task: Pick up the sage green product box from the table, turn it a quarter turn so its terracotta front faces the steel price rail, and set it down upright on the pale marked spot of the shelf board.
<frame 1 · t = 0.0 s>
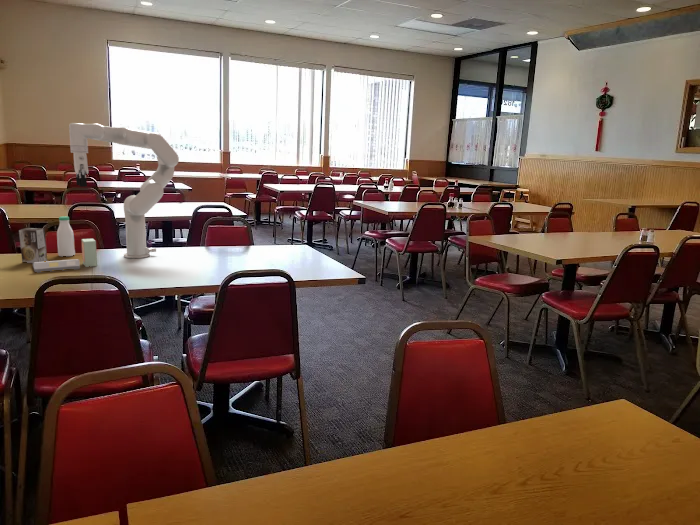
hand: (81, 185, 263), 37 cm above the table, tool pointing down, fingers open, 9 cm apart
milk bottle: (66, 255, 279), on the table
coffee box: (34, 262, 262), on the table
shelf board: (56, 267, 252), on the table
product box: (90, 264, 260), on the table
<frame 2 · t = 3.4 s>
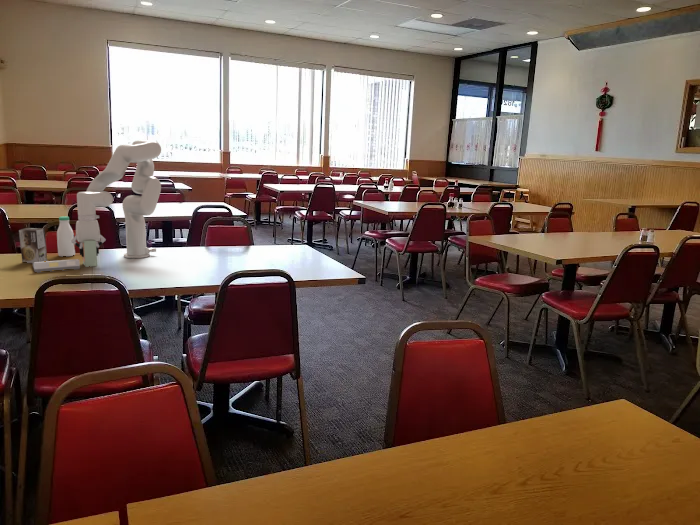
hand: (89, 255, 259), 4 cm above the table, tool pointing down, fingers closed on product box, 5 cm apart
product box: (90, 264, 260), on the table, touching gripper
everything else where it was.
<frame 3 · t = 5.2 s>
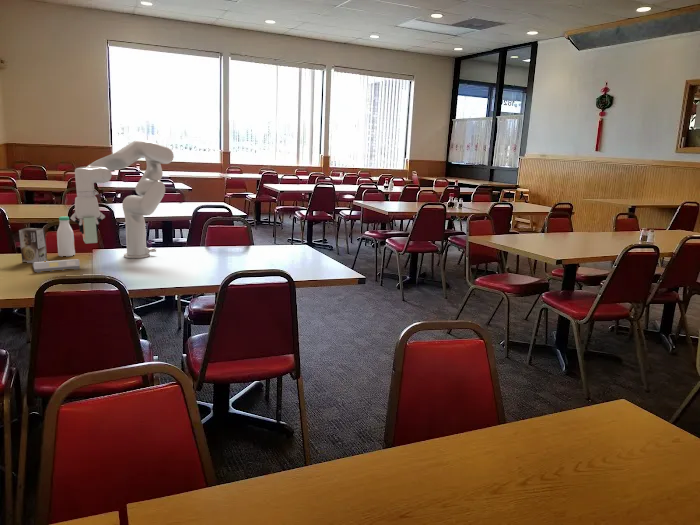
hand: (89, 232, 258), 16 cm above the table, tool pointing down, fingers closed on product box, 5 cm apart
product box: (90, 241, 259), point 11 cm above the table, touching gripper
everything else where it was.
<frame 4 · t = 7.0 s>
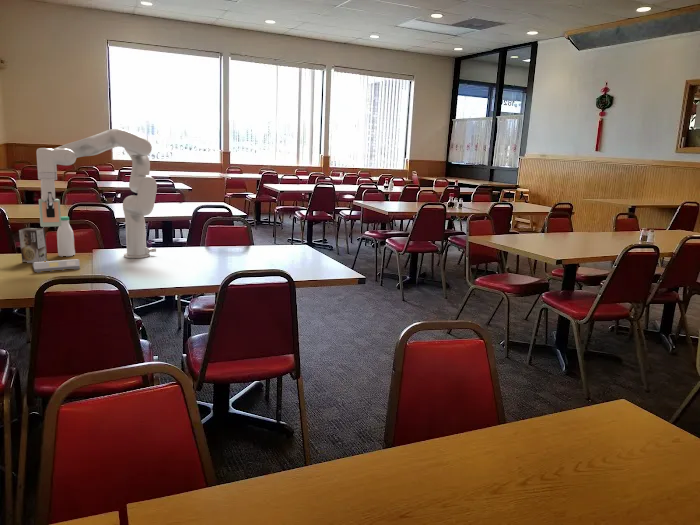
hand: (50, 216, 247), 24 cm above the table, tool pointing down, fingers closed on product box, 5 cm apart
product box: (50, 225, 248), point 20 cm above the table, touching gripper
everything else where it was.
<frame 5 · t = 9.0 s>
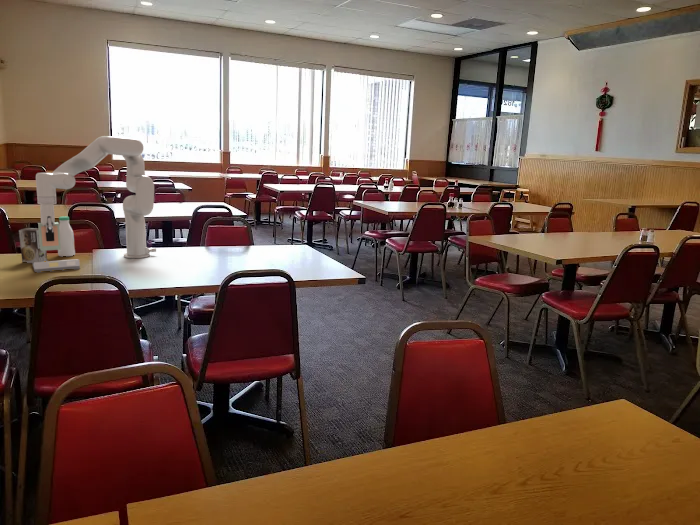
hand: (49, 239, 249), 13 cm above the table, tool pointing down, fingers closed on product box, 5 cm apart
product box: (50, 249, 250), point 9 cm above the table, touching gripper
everything else where it was.
when the fingers open (7 cm above the table, at t = 10.6 s): product box drops 1 cm, resting on shelf board.
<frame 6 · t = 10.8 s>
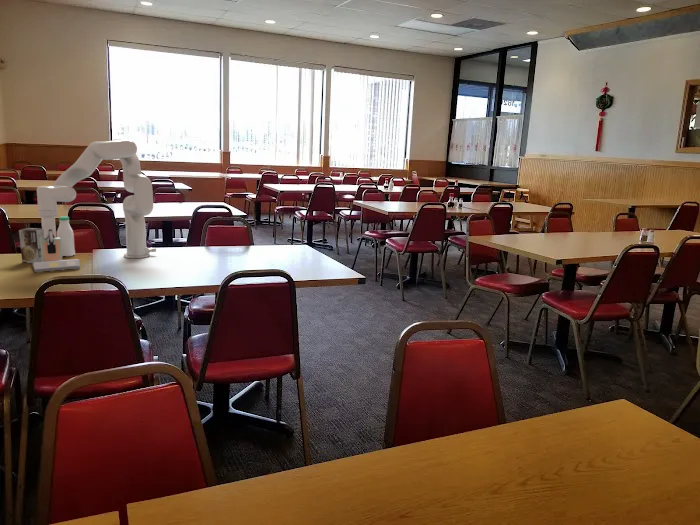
hand: (51, 251, 250), 8 cm above the table, tool pointing down, fingers open, 7 cm apart
product box: (52, 263, 251), point 2 cm above the table, touching shelf board
everything else where it was.
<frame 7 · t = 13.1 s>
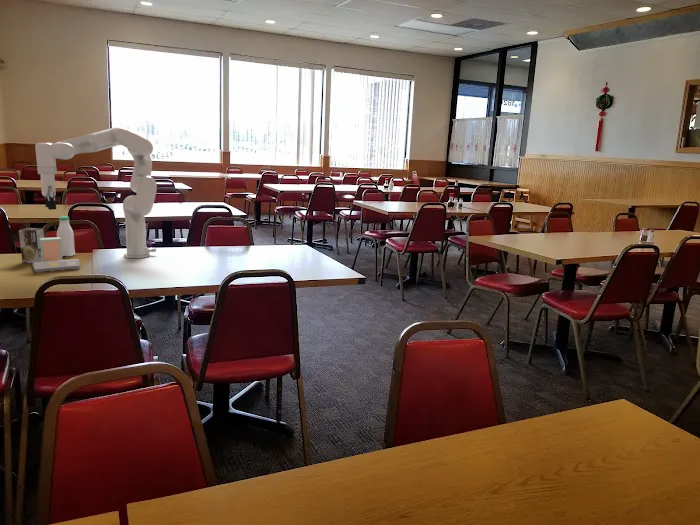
hand: (51, 208, 250), 27 cm above the table, tool pointing down, fingers open, 9 cm apart
nothing on the table moved.
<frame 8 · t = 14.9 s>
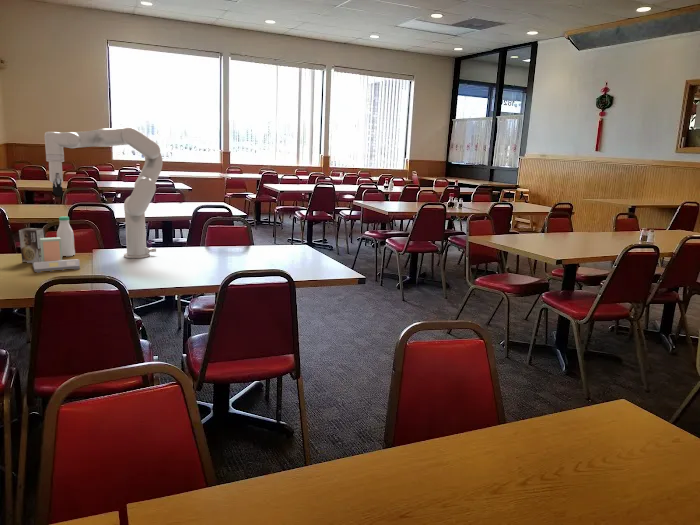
hand: (57, 194, 261), 32 cm above the table, tool pointing down, fingers open, 9 cm apart
nothing on the table moved.
at the end: product box inside the target area on the shelf board (0.1 cm from its centre), point 1.7 cm above the shelf board's base; product box tilted 0°; the gripper is holding nothing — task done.
